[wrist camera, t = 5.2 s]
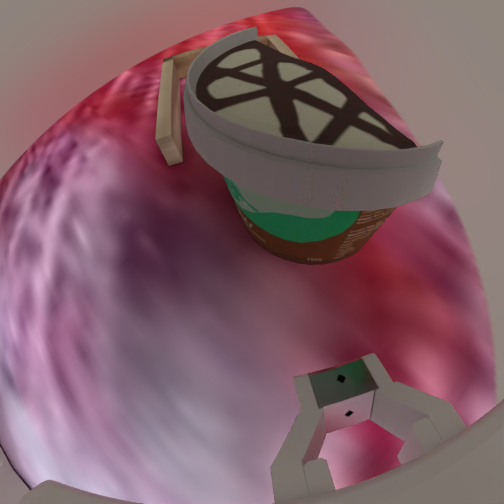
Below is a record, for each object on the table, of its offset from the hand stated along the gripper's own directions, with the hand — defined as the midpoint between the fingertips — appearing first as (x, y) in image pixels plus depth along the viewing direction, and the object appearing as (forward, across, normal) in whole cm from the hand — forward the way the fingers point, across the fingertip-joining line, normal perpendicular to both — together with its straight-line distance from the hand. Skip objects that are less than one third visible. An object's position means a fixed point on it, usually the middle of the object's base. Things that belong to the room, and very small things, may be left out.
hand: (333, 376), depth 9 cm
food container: (+10, 0, -3) cm, 11 cm away
